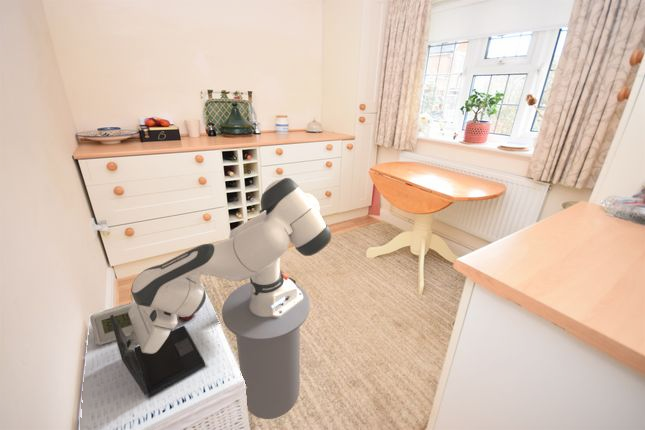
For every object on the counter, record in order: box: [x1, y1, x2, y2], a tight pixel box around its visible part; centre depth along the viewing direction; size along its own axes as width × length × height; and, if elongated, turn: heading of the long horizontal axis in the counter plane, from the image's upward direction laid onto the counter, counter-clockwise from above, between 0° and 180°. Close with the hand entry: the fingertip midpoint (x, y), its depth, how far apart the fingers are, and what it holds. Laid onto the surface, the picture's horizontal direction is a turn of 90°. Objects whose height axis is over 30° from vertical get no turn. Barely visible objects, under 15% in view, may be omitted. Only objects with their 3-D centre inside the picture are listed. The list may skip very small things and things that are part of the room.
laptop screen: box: [110, 315, 149, 396], centre depth 85 cm, size 16×20×1 cm
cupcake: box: [177, 314, 195, 322], centre depth 109 cm, size 10×6×12 cm, turn 133°
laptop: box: [134, 325, 206, 398], centre depth 95 cm, size 16×20×2 cm
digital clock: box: [89, 301, 135, 346], centre depth 102 cm, size 16×9×11 cm, turn 110°
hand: (129, 346), depth 85 cm, fingers closed, pressing on laptop screen
